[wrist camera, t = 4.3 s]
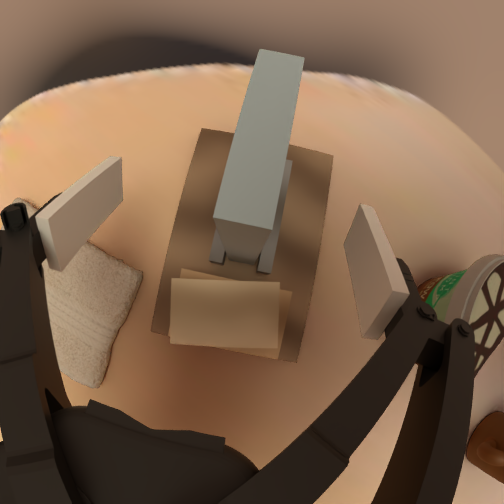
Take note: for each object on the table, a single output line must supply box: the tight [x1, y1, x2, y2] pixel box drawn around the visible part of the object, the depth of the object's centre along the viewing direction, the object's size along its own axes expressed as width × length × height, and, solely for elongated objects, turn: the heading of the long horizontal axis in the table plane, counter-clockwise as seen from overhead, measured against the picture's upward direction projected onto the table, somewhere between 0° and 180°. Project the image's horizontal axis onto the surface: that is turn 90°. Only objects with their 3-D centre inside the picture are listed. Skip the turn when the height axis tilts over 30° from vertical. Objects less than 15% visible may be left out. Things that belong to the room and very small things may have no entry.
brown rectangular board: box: [151, 128, 333, 363], centre depth 24 cm, size 18×12×3 cm, turn 168°
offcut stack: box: [168, 268, 292, 360], centre depth 21 cm, size 5×8×5 cm
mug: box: [467, 412, 504, 483], centre depth 19 cm, size 12×8×9 cm, turn 67°
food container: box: [415, 254, 504, 378], centre depth 20 cm, size 12×6×10 cm, turn 132°
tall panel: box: [213, 49, 304, 265], centre depth 17 cm, size 8×2×14 cm, turn 168°
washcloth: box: [1, 198, 143, 388], centre depth 23 cm, size 12×18×3 cm, turn 65°
